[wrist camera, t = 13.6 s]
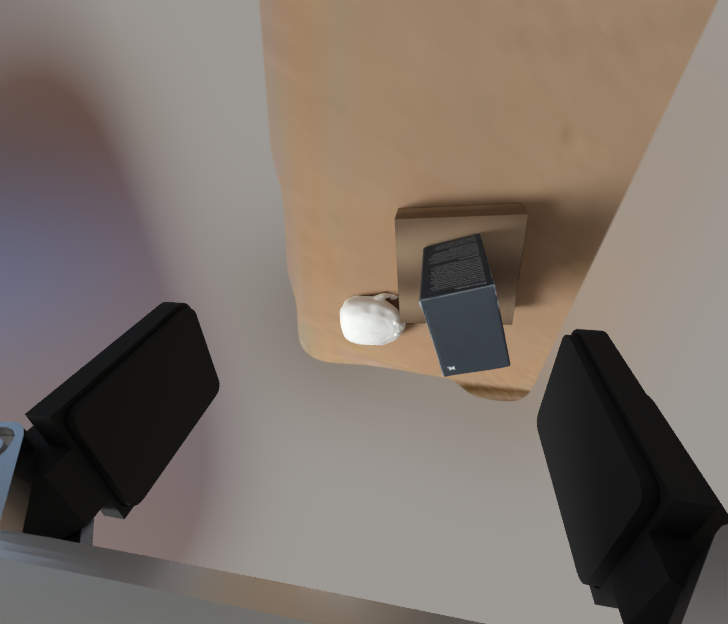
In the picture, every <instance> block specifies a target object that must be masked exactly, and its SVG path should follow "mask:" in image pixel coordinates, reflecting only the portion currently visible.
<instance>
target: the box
mask: <svg viewBox="0 0 728 624" xmlns="http://www.w3.org/2000/svg"><path fill="white" fill-rule="evenodd" d="M419 304H420V306H421V308H422V311H423V314H424V317H425V319H426V323H427V326H428V329H429V331H430V334H431V337H432V341H433V344H434V347H435V350H436V353H437V357H438V360H439V363H440V367H441V371H442V374H443V375H444V376H445V377H446V376H451V375H457V374H463V373H471V372H478V371H485V370H491V369H497V368H503V367H508V366H510V360H509V355H508V350H507V344H506V339H505V334H504V328H503V323H502V318H501V313H500V308H499V303H498V298H497V293H496V288H495V284H494V280H493V277H492V274H491V270H490V267H489V264H488V260H487V256H486V253H485V249H484V246H483V243H482V239H481V236H480V234H475V235H471V236H467V237H463V238H459V239H456V240H452V241H448V242H444V243H440V244H436V245H432V246H428V247H425V248H423V258H422V272H421V285H420V297H419Z"/></svg>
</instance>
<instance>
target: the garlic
mask: <svg viewBox="0 0 728 624" xmlns="http://www.w3.org/2000/svg"><path fill="white" fill-rule="evenodd" d="M398 297H399V296H396V295H393V294H389V293H381V294H378V295H376V296H352V297H350V298H349V299H347V300H345V302H344V304H343V306H342V308H341V310H340V323H341V328H342V331H343V334H344V336H345V338H346V339H347V340H349V341H351V342H353V343H356V344H365V345H384V344H387V343H389V342H392V341H395V340H396V339H397V338H398V337H399V336H400V335H401V333H402V332H403V330H404V329H405V323H400V312H399V310H398V309H397V308H396V307H394V306H393V305H392V304H391V303H389V302H388V301H386V300H385V299H386V298H390V299H391V300H393V299H394V300H395V299H396V298H398Z"/></svg>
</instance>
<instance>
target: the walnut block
mask: <svg viewBox="0 0 728 624" xmlns="http://www.w3.org/2000/svg"><path fill="white" fill-rule="evenodd" d="M527 219H528V213H527V212H526V210H525V209H524V207H523V205H522V204H521V203H515V204H492V205H469V206H446V207H423V208H400V209H398V211H397V214H396V217H395V234H396V254H397V273H398V292H399V312H400V323H426V319H425V317H424V314H423V311H422V308H421V306H420V304H419V297H420V285H421V272H422V258H423V248H425V247H428V246H432V245H436V244H440V243H444V242H448V241H452V240H456V239H459V238H463V237H467V236H471V235H475V234H480V236H481V239H482V243H483V246H484V249H485V253H486V256H487V260H488V264H489V267H490V270H491V274H492V277H493V280H494V284H495V288H496V293H497V298H498V303H499V308H500V313H501V318H502V323H503V325H512V322H513V315H514V308H515V301H516V294H517V287H518V280H519V274H520V267H521V260H522V253H523V246H524V239H525V233H526V226H527Z"/></svg>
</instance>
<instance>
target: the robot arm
mask: <svg viewBox="0 0 728 624" xmlns="http://www.w3.org/2000/svg"><path fill="white" fill-rule="evenodd" d="M218 391H219V380H218V377H217V374H216V371H215V368H214V365H213V362H212V359H211V356H210V353H209V350H208V348H207V344H206V341H205V339H204V336H203V333H202V330H201V327H200V324H199V321H198V318H197V315H196V313H195V311H194V310H193V309H191V308H190V306H188V304H185V303H175V302H163V303H161V304H160V305H159V306H157V307H156V308H155V309H154V310H152V311H151V312H150V313H149V314H147V315H146V316H145V317H144V318H143V319H142V320H140V321H139V322H138V323H136V324H135V325H134V326H133V327H131V328H130V329H129V330H128V331H127V332H125V333H124V334H123V335H122V336H120V337H119V338H118V339H117V340H115V341H114V342H113V343H112V344H111V345H109V346H108V347H107V348H106V349H104V350H103V351H102V352H101V353H99V354H98V355H97V356H96V357H95V358H93V359H92V360H91V361H90V362H88V363H87V364H86V365H85V366H84V367H82V368H81V369H80V370H79V371H77V372H76V373H75V374H74V375H72V376H71V377H70V378H69V379H67V380H66V381H65V382H64V383H63V384H61V385H60V386H59V387H58V388H56V389H55V390H54V391H53V392H52V393H50V394H49V395H48V396H47V397H45V398H44V399H43V400H42V401H41V402H39V403H38V404H37V405H36V406H34V407H33V408H32V409H31V410H30V411H28V412H27V413H26V414H25V415H26V416H27V418H28V419H29V420H30V421H31V423H32V424H33V425H34V426H32V427H31V428H30V429H29V430H28V431H26V430H25V429H24V428H23V427H22V426H21V425H20V424H19V423H16V422H12V421H9V422H0V624H484V623H479V622H474V621H469V620H464V619H459V618H454V617H449V616H445V615H440V614H435V613H430V612H425V611H420V610H415V609H410V608H405V607H400V606H395V605H390V604H385V603H380V602H376V601H371V600H365V599H361V598H355V597H351V596H346V595H341V594H336V593H331V592H326V591H321V590H316V589H311V588H306V587H301V586H296V585H291V584H286V583H281V582H276V581H271V580H266V579H261V578H256V577H251V576H246V575H240V574H236V573H231V572H225V571H220V570H215V569H210V568H205V567H200V566H195V565H190V564H185V563H180V562H174V561H170V560H164V559H159V558H154V557H148V556H144V555H138V554H133V553H128V552H122V551H117V550H112V549H107V548H102V547H96V546H93V529H94V517H95V516H96V514H97V513H98V512H99V510H101V512H102V513H103V514H104V515H105V516H110V517H116V518H121V519H125V518H126V516H127V515H128V514H129V512H130V511H131V509H132V508H133V507H134V506H135V505H138V504H139V503H140V502H141V501H142V500H143V499H144V498H145V496H146V495H147V493H148V492H149V490H150V489H151V488H152V486H153V485H154V483H155V482H156V480H157V479H158V478H159V476H160V475H161V473H162V472H163V471H164V469H165V468H166V466H167V465H168V463H169V462H170V461H171V459H172V458H173V456H174V455H175V453H176V452H177V451H178V449H179V448H180V446H181V445H182V443H183V442H184V441H185V439H186V438H187V436H188V435H189V433H190V432H191V431H192V429H193V428H194V426H195V425H196V424H197V422H198V421H199V419H200V418H201V416H202V415H203V413H204V412H205V411H206V409H207V408H208V406H209V405H210V404H211V402H212V401H213V399H214V398H215V396H216V395H217V393H218ZM537 428H538V433H539V436H540V440H541V444H542V447H543V451H544V454H545V458H546V462H547V465H548V469H549V472H550V476H551V479H552V483H553V487H554V491H555V494H556V498H557V501H558V505H559V509H560V512H561V516H562V520H563V523H564V527H565V530H566V534H567V537H568V541H569V544H570V548H571V552H572V555H573V559H574V563H575V567H576V570H577V573H578V576H579V578H580V580H581V582H582V583H583V584H586V585H589V586H590V589H591V593H592V596H593V599H594V603H595V604H596V605H601V606H607V607H613V608H618V609H619V612H620V615H621V618H622V621H623V623H624V624H728V513H727V512H726V511H725V509H724V507H723V506H722V504H721V503H720V501H719V500H718V498H717V497H716V495H715V494H714V492H713V491H712V489H711V488H710V486H709V485H708V483H707V482H706V480H705V478H704V477H703V475H702V474H701V472H700V471H699V469H698V468H697V466H696V465H695V463H694V462H693V460H692V459H691V457H690V456H689V454H688V453H687V451H686V450H685V449H684V447H683V445H682V444H681V442H680V441H679V439H678V437H677V436H676V434H675V433H674V431H673V430H672V428H671V427H670V425H669V424H668V422H667V421H666V419H665V418H664V416H663V415H662V413H661V412H660V410H659V409H658V407H657V406H656V404H655V402H654V401H653V400H652V399H651V398H650V397H649V396H648V395H647V394H646V393H645V391H644V390H643V388H642V387H641V385H640V384H639V382H638V380H637V379H636V377H635V376H634V374H633V373H632V371H631V370H630V368H629V367H628V365H627V364H626V362H625V361H624V359H623V358H622V356H621V354H620V353H619V351H618V350H617V348H616V347H615V345H614V344H613V342H612V341H611V339H610V338H609V336H608V334H607V333H606V332H604V331H598V330H582V329H576V330H574V331H573V332H572V334H571V335H565V336H564V337H563V339H562V341H561V344H560V347H559V350H558V353H557V357H556V360H555V363H554V366H553V369H552V372H551V375H550V378H549V382H548V384H547V388H546V391H545V394H544V397H543V400H542V403H541V406H540V409H539V412H538V417H537Z"/></svg>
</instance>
